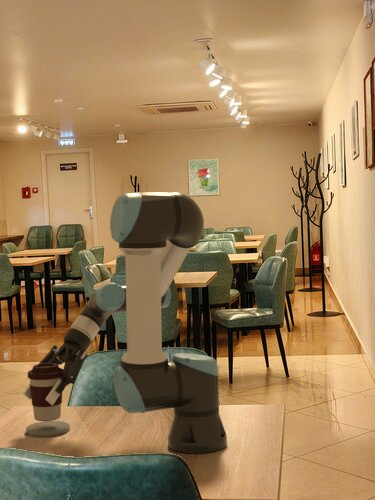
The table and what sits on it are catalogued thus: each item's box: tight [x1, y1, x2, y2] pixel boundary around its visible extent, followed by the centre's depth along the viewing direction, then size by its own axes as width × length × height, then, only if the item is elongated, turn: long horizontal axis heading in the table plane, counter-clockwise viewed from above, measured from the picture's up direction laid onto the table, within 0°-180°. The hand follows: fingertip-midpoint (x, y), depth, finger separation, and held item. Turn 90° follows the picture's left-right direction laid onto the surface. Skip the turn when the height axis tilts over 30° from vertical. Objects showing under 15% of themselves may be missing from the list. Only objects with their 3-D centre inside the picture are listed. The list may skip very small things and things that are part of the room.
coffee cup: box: [27, 363, 64, 422], centre depth 204 cm, size 10×10×15 cm
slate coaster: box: [25, 420, 71, 439], centre depth 204 cm, size 12×12×1 cm
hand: (37, 399), depth 202 cm, fingers closed on coffee cup, 10 cm apart
